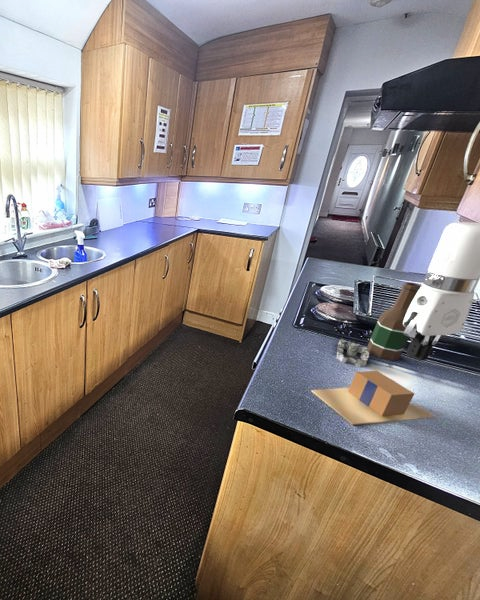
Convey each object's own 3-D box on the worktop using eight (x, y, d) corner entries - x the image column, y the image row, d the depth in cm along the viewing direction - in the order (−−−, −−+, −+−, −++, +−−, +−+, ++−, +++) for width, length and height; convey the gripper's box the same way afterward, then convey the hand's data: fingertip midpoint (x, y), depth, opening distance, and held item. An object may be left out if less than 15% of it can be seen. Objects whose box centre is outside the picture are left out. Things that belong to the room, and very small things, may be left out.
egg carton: (364, 371, 93) (369, 359, 91) (332, 361, 98) (336, 350, 96) (366, 355, 100) (371, 344, 99) (337, 347, 105) (341, 336, 103)
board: (385, 385, 87) (386, 384, 87) (436, 418, 76) (436, 416, 76) (311, 391, 84) (311, 390, 84) (352, 425, 73) (353, 423, 73)
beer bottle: (368, 347, 105) (396, 277, 96) (400, 357, 100) (433, 284, 90) (362, 356, 101) (391, 283, 91) (395, 367, 95) (430, 291, 86)
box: (376, 370, 82) (355, 371, 82) (414, 393, 74) (391, 395, 73) (368, 390, 85) (347, 391, 84) (404, 414, 76) (381, 416, 76)
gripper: (438, 290, 64) (404, 368, 71) (502, 286, 66) (462, 364, 73) (399, 278, 71) (371, 351, 78) (457, 275, 73) (425, 347, 80)
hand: (415, 357), depth 76 cm, fingers closed
